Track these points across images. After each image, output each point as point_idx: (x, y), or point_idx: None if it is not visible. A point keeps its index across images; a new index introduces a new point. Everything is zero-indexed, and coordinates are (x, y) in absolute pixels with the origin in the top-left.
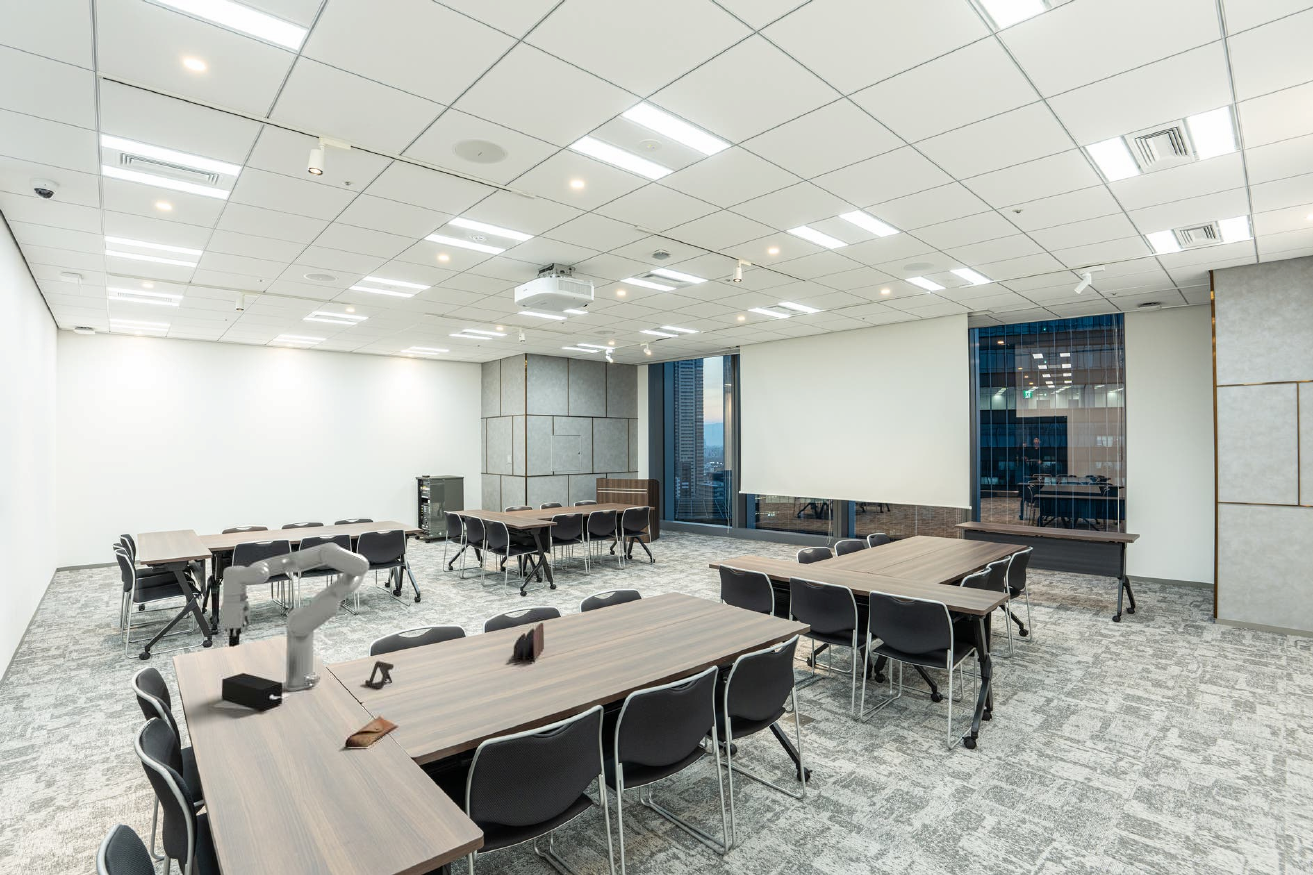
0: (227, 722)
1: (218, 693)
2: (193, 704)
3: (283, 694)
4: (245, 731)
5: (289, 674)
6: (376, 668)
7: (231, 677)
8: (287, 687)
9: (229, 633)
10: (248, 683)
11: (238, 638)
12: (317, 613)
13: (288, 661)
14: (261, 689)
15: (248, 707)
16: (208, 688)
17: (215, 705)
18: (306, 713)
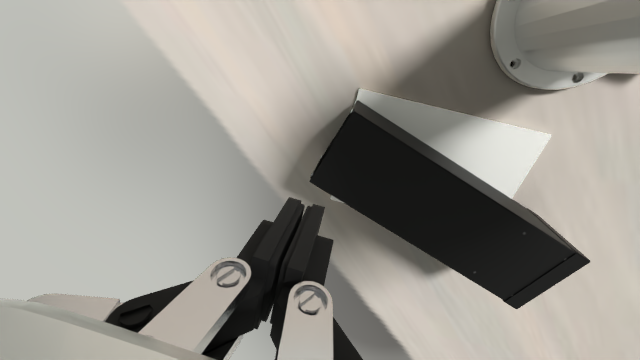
0: (417, 290)
1: (272, 88)
2: (260, 171)
3: (523, 135)
4: (481, 337)
5: (576, 67)
6: None
7: (333, 165)
8: (531, 78)
9: (226, 348)
10: (440, 241)
11: (325, 274)
12: None
13: (633, 61)
14: (516, 306)
15: None
16: (205, 32)
17: (331, 198)
18: (630, 282)
